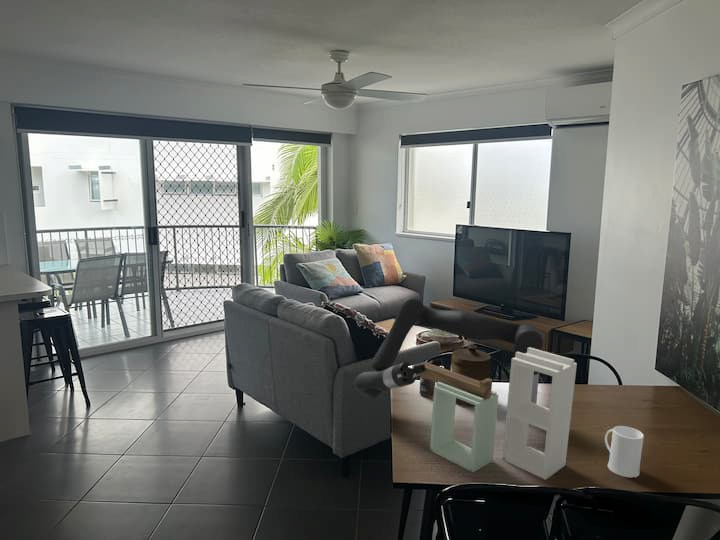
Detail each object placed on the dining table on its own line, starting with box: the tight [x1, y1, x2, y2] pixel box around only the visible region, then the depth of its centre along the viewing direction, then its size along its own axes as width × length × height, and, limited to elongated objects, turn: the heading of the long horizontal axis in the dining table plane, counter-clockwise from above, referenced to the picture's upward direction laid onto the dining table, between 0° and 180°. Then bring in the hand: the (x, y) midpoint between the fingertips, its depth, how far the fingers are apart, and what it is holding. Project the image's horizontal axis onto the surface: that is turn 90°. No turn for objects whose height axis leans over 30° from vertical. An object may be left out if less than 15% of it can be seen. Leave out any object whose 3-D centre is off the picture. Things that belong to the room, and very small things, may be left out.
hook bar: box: [418, 362, 493, 400], centre depth 158 cm, size 4×24×5 cm, turn 43°
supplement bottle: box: [419, 376, 436, 398], centre depth 203 cm, size 6×6×11 cm
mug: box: [604, 425, 645, 478], centre depth 155 cm, size 12×8×12 cm
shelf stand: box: [501, 347, 578, 481], centre depth 154 cm, size 12×14×34 cm
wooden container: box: [450, 343, 492, 408], centre depth 199 cm, size 15×15×22 cm
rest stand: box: [429, 382, 499, 473], centre depth 157 cm, size 10×16×22 cm, turn 43°
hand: (433, 364), depth 163 cm, fingers open, 8 cm apart
